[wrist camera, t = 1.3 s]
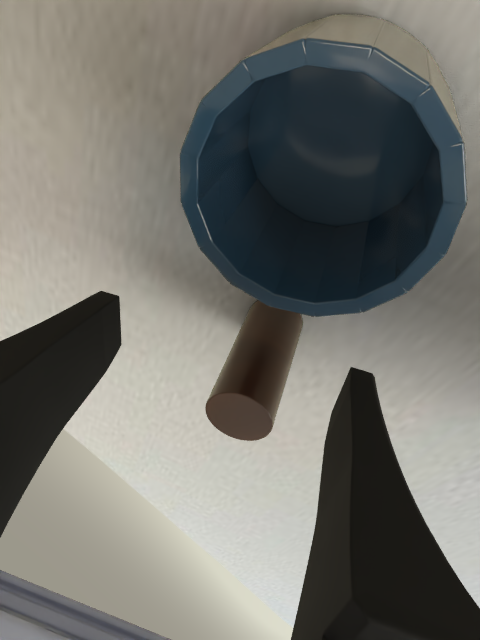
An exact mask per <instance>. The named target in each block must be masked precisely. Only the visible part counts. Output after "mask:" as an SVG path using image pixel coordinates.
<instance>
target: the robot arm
mask: <svg viewBox="0 0 480 640" xmlns="http://www.w3.org/2000/svg"><path fill="white" fill-rule="evenodd" d="M120 346H121V324H120V302H119V296H117V295H113V294H110V293H107V292H103V291H100V292H98V293H96V294H94V295H92V296H90V297H88V298H86V299H85V300H83V301H81V302H79V303H77V304H75V305H73V306H72V307H70V308H68V309H66V310H64V311H62V312H60V313H58V314H57V315H55V316H53V317H51V318H49V319H47V320H45V321H43V322H41V323H39V324H37V325H35V326H33V327H31V328H28V329H26V330H24V331H22V332H20V333H18V334H16V335H13V336H11V337H9V338H7V339H4V340H2V341H0V537H1V535H2V533H3V531H4V529H5V527H6V525H7V523H8V521H9V519H10V518H11V516H12V514H13V512H14V510H15V508H16V506H17V504H18V503H19V501H20V499H21V497H22V495H23V494H24V492H25V490H26V488H27V486H28V485H29V483H30V481H31V480H32V478H33V476H34V474H35V473H36V471H37V469H38V467H39V466H40V464H41V462H42V461H43V459H44V457H45V456H46V454H47V453H48V451H49V449H50V447H51V446H52V444H53V443H54V441H55V439H56V438H57V436H58V435H59V434H60V432H61V431H62V429H63V428H64V426H65V425H66V424H67V422H68V421H69V420H70V418H71V417H72V416H73V415H74V413H75V412H76V411H77V409H78V408H79V407H80V405H81V404H82V403H83V402H84V400H85V399H86V398H87V396H88V395H89V394H90V392H91V391H92V390H93V388H94V387H95V386H96V384H97V383H98V382H99V380H100V379H101V378H102V376H103V375H104V374H105V372H106V371H107V369H108V368H109V366H110V364H111V362H112V361H113V359H114V357H115V355H116V354H117V352H118V350H119V348H120ZM0 640H171V639H168V638H166V637H163V636H161V635H159V634H156V633H154V632H151V631H149V630H146V629H144V628H141V627H139V626H136V625H134V624H131V623H129V622H127V621H124V620H122V619H119V618H117V617H114V616H112V615H109V614H107V613H105V612H102V611H99V610H97V609H95V608H92V607H90V606H87V605H85V604H82V603H80V602H77V601H75V600H73V599H70V598H67V597H65V596H63V595H60V594H58V593H55V592H53V591H50V590H48V589H46V588H43V587H40V586H38V585H35V584H33V583H30V582H28V581H26V580H23V579H21V578H18V577H16V576H14V575H11V574H9V573H6V572H4V571H1V570H0ZM291 640H480V608H479V607H478V606H477V604H476V603H475V601H474V600H473V599H472V597H471V596H470V595H469V593H468V592H467V590H466V589H465V587H464V586H463V584H462V583H461V581H460V580H459V578H458V577H457V575H456V573H455V572H454V570H453V569H452V567H451V566H450V564H449V563H448V561H447V559H446V557H445V556H444V554H443V552H442V551H441V549H440V547H439V545H438V544H437V542H436V540H435V538H434V537H433V535H432V533H431V531H430V530H429V528H428V526H427V524H426V523H425V521H424V519H423V517H422V515H421V513H420V511H419V509H418V507H417V505H416V503H415V501H414V498H413V496H412V494H411V492H410V490H409V488H408V485H407V483H406V481H405V478H404V476H403V473H402V471H401V468H400V466H399V463H398V461H397V458H396V455H395V452H394V450H393V447H392V444H391V441H390V438H389V434H388V431H387V428H386V425H385V421H384V418H383V414H382V410H381V406H380V402H379V398H378V393H377V388H376V383H375V377H374V376H373V374H372V373H369V372H366V371H363V370H359V369H356V368H353V367H351V368H350V370H349V373H348V375H347V378H346V380H345V382H344V385H343V387H342V389H341V392H340V394H339V396H338V399H337V401H336V403H335V406H334V408H333V410H332V414H331V418H330V422H329V427H328V431H327V436H326V440H325V446H324V455H323V464H322V473H321V482H320V492H319V501H318V511H317V518H316V525H315V531H314V536H313V541H312V546H311V551H310V555H309V560H308V565H307V570H306V574H305V579H304V584H303V588H302V593H301V597H300V602H299V606H298V611H297V615H296V620H295V624H294V628H293V633H292V637H291Z"/></svg>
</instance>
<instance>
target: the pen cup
mask: <svg viewBox="0 0 480 640" xmlns="http://www.w3.org/2000/svg"><path fill="white" fill-rule="evenodd" d="M180 186H181V203H182V207H183V210H184V212H185V214H186V217H187V219H188V222H189V224H190V227H191V229H192V232H193V234H194V237H195V239H196V242H197V244H198V246H199V247H200V250H201V251H202V252H203V253H204V254H205V255H206V257H207V258H208V259H209V260H210V261H211V262H212V263H213V265H214V266H215V267H216V268H217V269H218V270H219V271H220V273H221V274H222V275H223V276H224V277H225V278H226V280H227V281H228V282H230V284H232V285H233V286H235V287H237V288H239V289H240V290H242V291H244V292H245V293H247V294H249V295H250V296H252V297H254V298H255V299H257V300H259V301H260V302H262V303H264V304H265V305H267V306H270V307H273V308H278V309H282V310H286V311H291V312H295V313H299V314H304V315H308V316H312V317H314V316H315V317H321V316H332V315H344V314H355V313H361V312H366V311H368V310H370V309H372V308H375V307H377V306H379V305H381V304H383V303H386V302H388V301H390V300H392V299H395V298H397V297H399V296H401V295H404V294H406V293H407V292H408V291H410V290H411V289H412V288H413V287H414V286H415V285H416V284H417V283H418V282H419V281H420V280H421V279H422V278H423V277H424V276H425V275H426V274H427V273H428V272H429V271H430V270H431V269H432V268H433V267H434V266H435V265H436V264H437V263H438V262H439V261H440V260H441V259H442V258H443V257H444V256H445V255H446V253H447V251H448V249H449V246H450V244H451V241H452V239H453V237H454V234H455V232H456V229H457V227H458V224H459V222H460V219H461V217H462V214H463V212H464V209H465V207H466V205H467V185H466V166H465V147H464V140H463V137H462V133H461V129H460V125H459V122H458V118H457V114H456V110H455V107H454V103H453V99H452V95H451V92H450V89H449V86H448V85H447V83H446V81H445V79H444V77H443V75H442V73H441V71H440V69H439V67H438V65H437V63H436V62H435V60H434V59H433V57H432V56H431V54H430V52H429V50H428V49H427V48H426V47H425V45H423V44H422V43H420V42H419V41H418V40H417V39H416V38H415V37H413V36H412V35H411V34H410V33H408V32H407V31H406V30H404V29H402V28H400V27H398V26H397V25H395V24H393V23H391V22H389V21H387V20H384V19H380V18H376V17H371V16H366V15H354V14H344V15H342V14H337V15H331V16H328V17H325V18H322V19H318V20H315V21H312V22H310V23H308V24H306V25H303V26H300V27H298V28H295V29H292V30H290V31H288V32H287V33H285V34H283V35H282V36H280V37H279V38H277V39H275V40H274V41H272V42H270V43H269V44H267V45H265V46H264V47H262V48H261V49H259V50H257V51H256V52H254V53H252V54H251V55H249V56H248V57H246V58H244V59H243V60H241V61H240V62H239V63H238V64H237V65H236V66H235V67H234V68H233V69H232V70H231V71H230V72H229V73H228V74H227V75H226V76H225V77H224V78H223V79H222V80H221V81H220V82H219V83H218V84H217V85H216V86H215V87H214V88H213V89H212V90H210V91H209V92H208V93H207V94H206V95H205V96H204V97H203V98H202V100H201V102H200V103H199V105H198V108H197V110H196V113H195V115H194V118H193V120H192V123H191V125H190V128H189V130H188V133H187V135H186V138H185V141H184V143H183V146H182V148H181V152H180Z"/></svg>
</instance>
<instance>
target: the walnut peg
mask: <svg viewBox="0 0 480 640" xmlns="http://www.w3.org/2000/svg"><path fill="white" fill-rule="evenodd" d="M302 326H303V321H302V317H301V315H300V314H299V313H295V312H291V311H286V310H282V309H278V308H273V307H270V306H267V305H265V304H264V303H262V302H260V301H259V300H258V301H257V302H255V303H254V304H253V305H252V306H251V308H250V310H249V312H248V314H247V316H246V319H245V321H244V323H243V325H242V327H241V329H240V331H239V334H238V336H237V338H236V340H235V342H234V344H233V347H232V349H231V351H230V353H229V355H228V357H227V360H226V362H225V364H224V366H223V368H222V370H221V373H220V375H219V377H218V379H217V381H216V383H215V386H214V388H213V390H212V392H211V394H210V396H209V399H208V401H207V403H206V414H207V417H208V419H209V420H210V422H211V423H212V424H213V425H214V426H215V427H216V428H217V429H218V430H220V431H221V432H223V433H224V434H226V435H228V436H230V437H233V438H236V439H240V440H247V441H253V440H259V439H262V438H264V437H266V436H267V435H268V434H269V433H270V432H271V430H272V427H273V424H274V420H275V417H276V414H277V410H278V407H279V404H280V400H281V397H282V394H283V390H284V387H285V384H286V380H287V377H288V374H289V370H290V367H291V364H292V360H293V357H294V354H295V350H296V347H297V344H298V340H299V337H300V333H301V330H302Z"/></svg>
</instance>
